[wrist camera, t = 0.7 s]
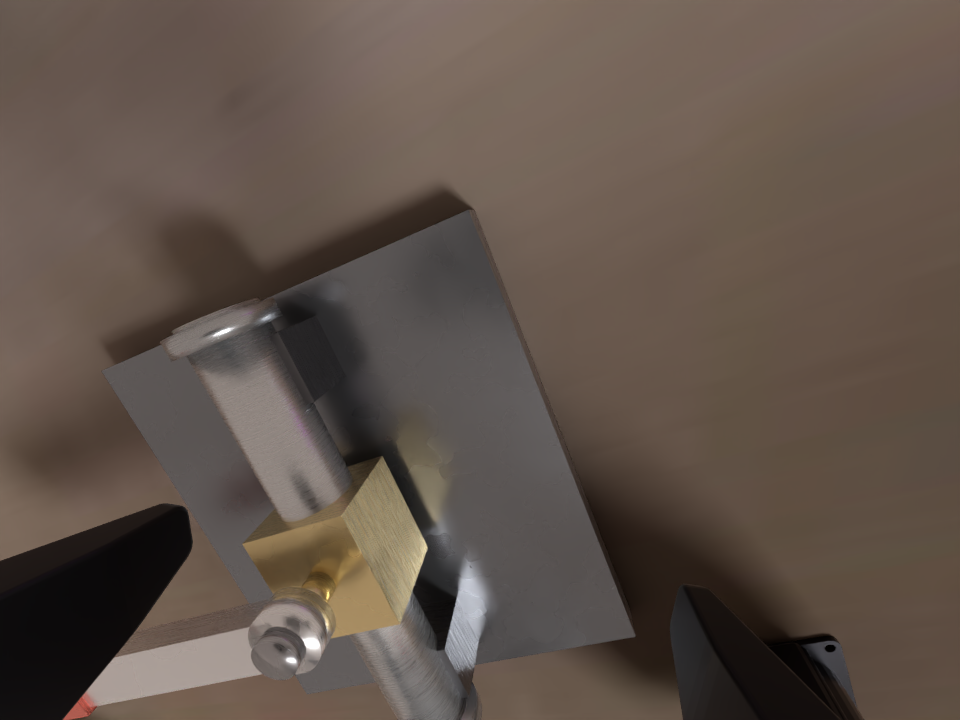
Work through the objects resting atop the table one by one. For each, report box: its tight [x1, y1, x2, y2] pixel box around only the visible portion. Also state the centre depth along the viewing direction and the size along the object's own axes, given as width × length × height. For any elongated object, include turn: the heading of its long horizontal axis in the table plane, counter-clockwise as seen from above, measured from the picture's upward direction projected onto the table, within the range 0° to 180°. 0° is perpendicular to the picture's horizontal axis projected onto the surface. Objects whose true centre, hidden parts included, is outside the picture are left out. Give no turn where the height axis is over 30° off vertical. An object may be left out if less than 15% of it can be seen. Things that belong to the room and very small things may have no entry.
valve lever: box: [63, 587, 336, 720], centre depth 18 cm, size 16×3×2 cm, turn 112°
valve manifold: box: [102, 210, 636, 720], centre depth 21 cm, size 22×20×8 cm
